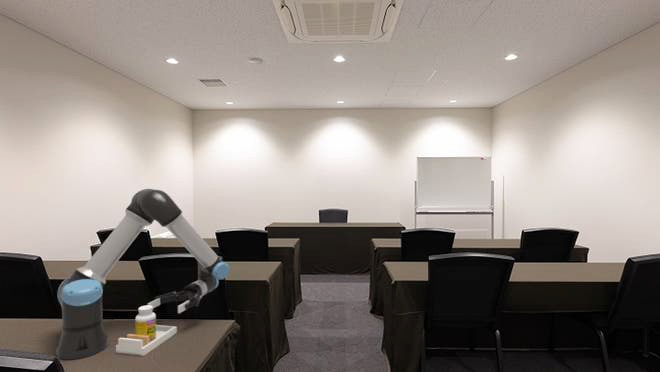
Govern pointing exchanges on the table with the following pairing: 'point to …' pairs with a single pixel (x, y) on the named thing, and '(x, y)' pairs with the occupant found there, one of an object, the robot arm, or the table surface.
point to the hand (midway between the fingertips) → (163, 308)
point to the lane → (137, 345)
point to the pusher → (140, 337)
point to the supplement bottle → (146, 322)
